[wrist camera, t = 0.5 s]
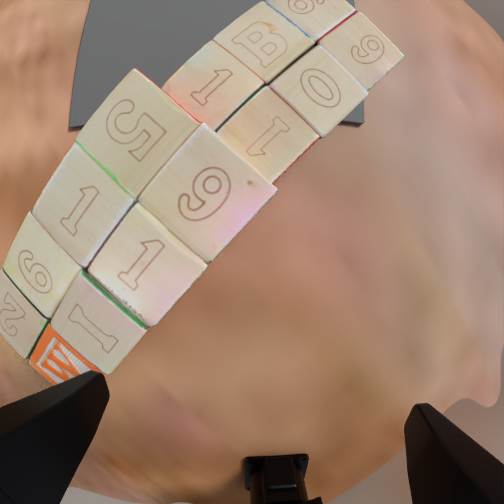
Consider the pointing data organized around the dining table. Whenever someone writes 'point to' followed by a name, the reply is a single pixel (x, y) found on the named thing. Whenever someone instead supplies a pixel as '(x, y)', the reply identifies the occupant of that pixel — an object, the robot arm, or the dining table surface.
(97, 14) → the mat
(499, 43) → the dining table surface
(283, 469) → the robot arm
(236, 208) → the stack of blocks
